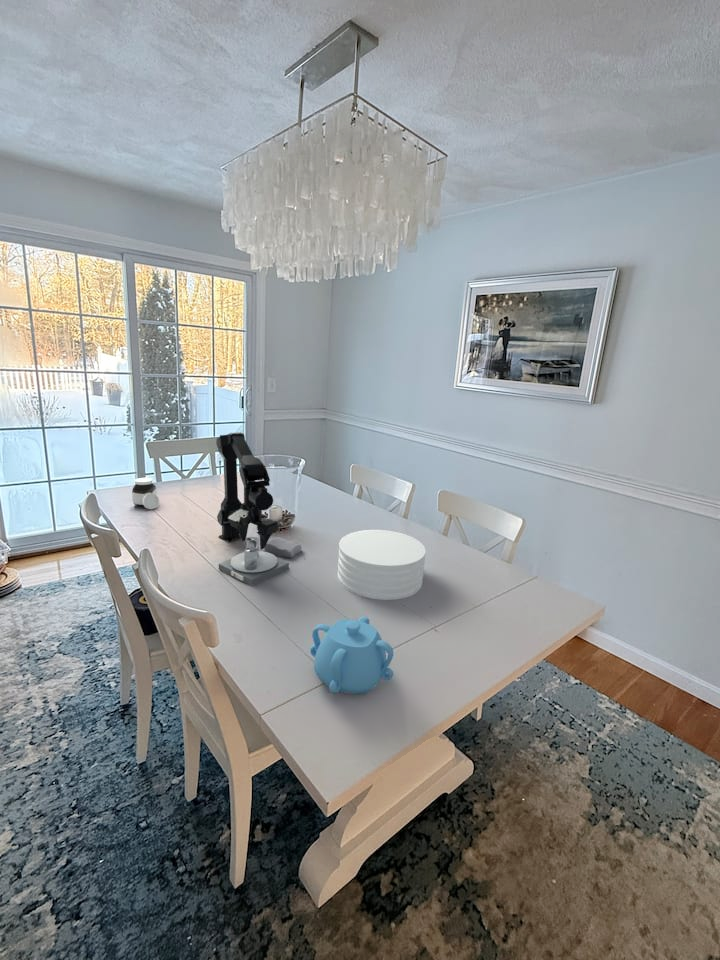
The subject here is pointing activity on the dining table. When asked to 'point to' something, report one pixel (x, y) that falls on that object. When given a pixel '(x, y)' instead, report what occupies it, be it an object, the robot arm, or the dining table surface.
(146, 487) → the spread jar
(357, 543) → the plate stack
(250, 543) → the cylinder
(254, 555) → the cylinder
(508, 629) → the dining table surface
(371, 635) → the decorative pot
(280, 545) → the stone block
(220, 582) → the dining table surface
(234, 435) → the robot arm
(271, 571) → the scale
